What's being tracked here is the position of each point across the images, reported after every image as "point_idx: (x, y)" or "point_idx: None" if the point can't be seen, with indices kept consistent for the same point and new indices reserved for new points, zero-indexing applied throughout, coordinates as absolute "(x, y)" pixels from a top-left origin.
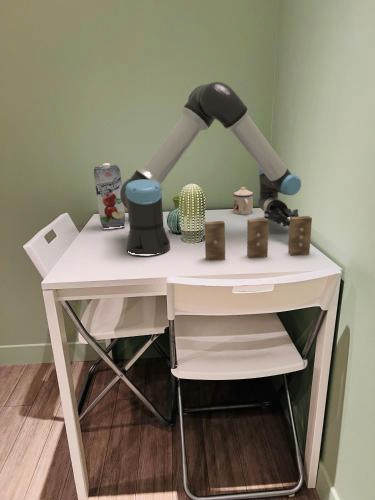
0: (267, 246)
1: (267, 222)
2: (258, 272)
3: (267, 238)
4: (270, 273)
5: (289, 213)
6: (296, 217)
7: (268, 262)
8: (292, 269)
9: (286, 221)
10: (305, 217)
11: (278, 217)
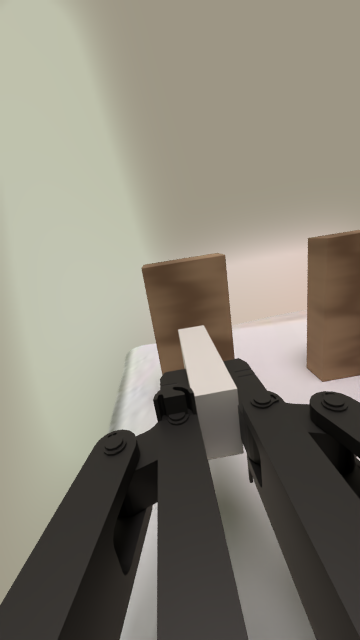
0: (308, 333)
1: (311, 245)
2: (299, 320)
3: (309, 306)
4: (273, 321)
5: (176, 636)
6: (199, 257)
7: (291, 346)
8: None
9: (244, 363)
10: (164, 262)
11: (340, 395)
